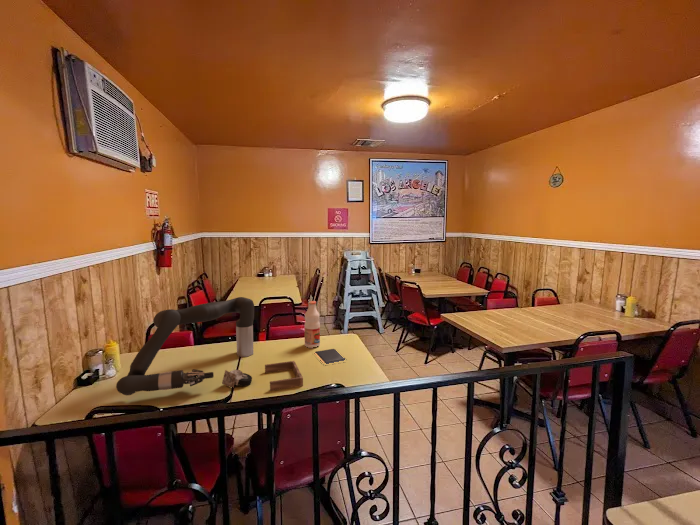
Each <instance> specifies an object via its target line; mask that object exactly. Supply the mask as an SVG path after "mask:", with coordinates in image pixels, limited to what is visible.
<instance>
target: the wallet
mask: <svg viewBox="0 0 700 525" xmlns="http://www.w3.org/2000/svg"><path fill="white" fill-rule="evenodd" d="M336 350H337V349H335V348H330V349H323V350H318V351H314V352H315V353H314V354H315V355H316V356H317V357H318V358H319V359H320V361H321V362H322V363H326V364H329V363H334V362H339V361H344V360H345V359H346V357H344V356H343V355H342V354H341V353H340V352H339V351H338V350H337V351H338V352H339V353H340V354H341V355H342V356H343V357H344V358H343V357H342V356H341V355H340V354H339V353H338V352H337V351H336ZM320 361H319V362H320ZM321 362H320V363H321ZM322 363H321V364H322Z"/></svg>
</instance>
